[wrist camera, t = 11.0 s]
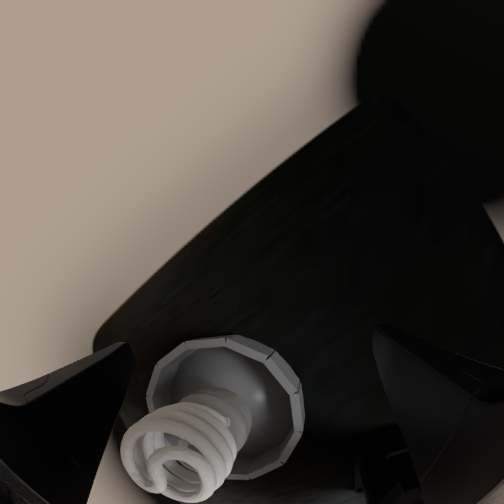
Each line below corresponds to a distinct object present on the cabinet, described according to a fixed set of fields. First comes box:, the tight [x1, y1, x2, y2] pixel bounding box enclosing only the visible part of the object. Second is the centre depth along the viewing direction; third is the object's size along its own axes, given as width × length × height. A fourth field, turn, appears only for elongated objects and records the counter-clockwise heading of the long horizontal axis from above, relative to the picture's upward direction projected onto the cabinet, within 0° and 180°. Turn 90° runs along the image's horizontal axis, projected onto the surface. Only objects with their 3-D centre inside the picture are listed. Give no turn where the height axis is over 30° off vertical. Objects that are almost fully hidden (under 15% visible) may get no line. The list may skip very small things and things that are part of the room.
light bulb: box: [120, 387, 252, 503], centre depth 14 cm, size 6×6×12 cm
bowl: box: [146, 334, 305, 480], centre depth 19 cm, size 12×12×4 cm
